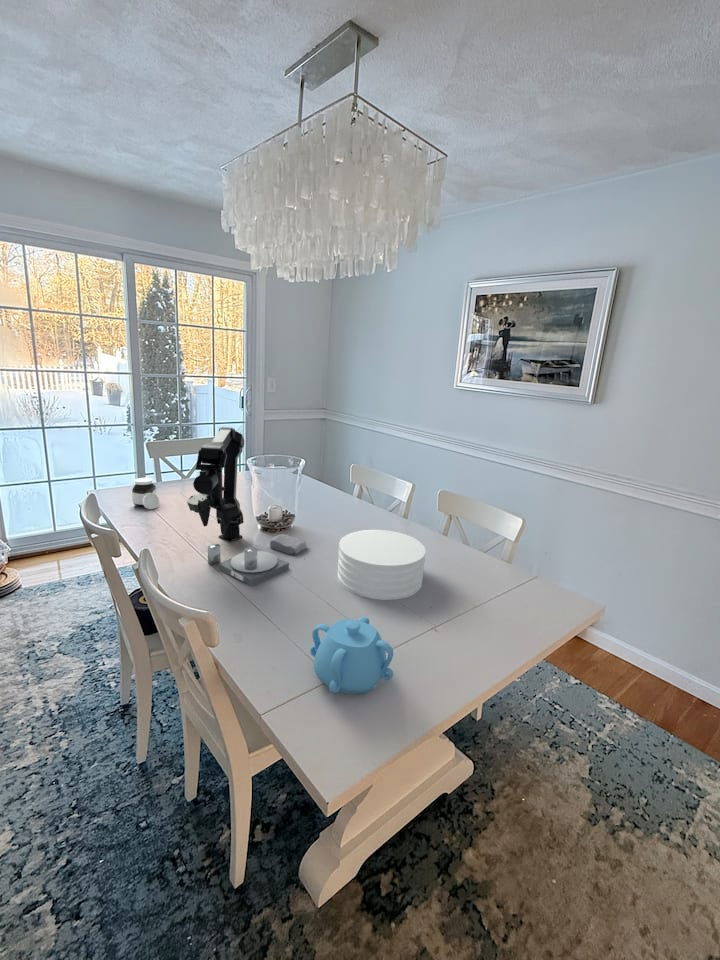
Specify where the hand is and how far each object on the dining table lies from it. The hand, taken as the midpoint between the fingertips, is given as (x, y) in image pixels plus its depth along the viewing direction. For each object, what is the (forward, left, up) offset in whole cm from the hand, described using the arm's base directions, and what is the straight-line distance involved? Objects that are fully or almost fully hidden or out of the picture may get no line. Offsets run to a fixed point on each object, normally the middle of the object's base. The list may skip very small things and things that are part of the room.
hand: (214, 529), depth 148 cm
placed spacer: (+16, +2, -9) cm, 18 cm away
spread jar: (-66, +14, -12) cm, 69 cm away
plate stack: (+47, +30, -12) cm, 57 cm away
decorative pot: (+68, -14, -12) cm, 71 cm away
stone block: (+9, +26, -12) cm, 30 cm away
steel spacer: (0, 0, -12) cm, 12 cm away
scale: (+13, +6, -12) cm, 18 cm away
